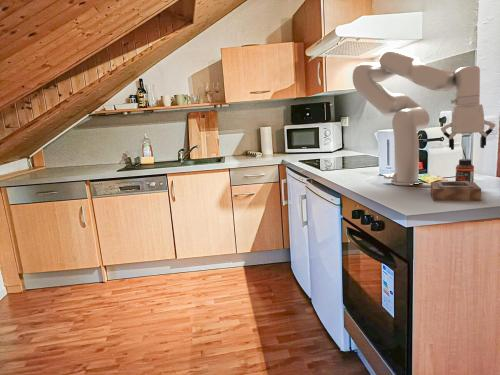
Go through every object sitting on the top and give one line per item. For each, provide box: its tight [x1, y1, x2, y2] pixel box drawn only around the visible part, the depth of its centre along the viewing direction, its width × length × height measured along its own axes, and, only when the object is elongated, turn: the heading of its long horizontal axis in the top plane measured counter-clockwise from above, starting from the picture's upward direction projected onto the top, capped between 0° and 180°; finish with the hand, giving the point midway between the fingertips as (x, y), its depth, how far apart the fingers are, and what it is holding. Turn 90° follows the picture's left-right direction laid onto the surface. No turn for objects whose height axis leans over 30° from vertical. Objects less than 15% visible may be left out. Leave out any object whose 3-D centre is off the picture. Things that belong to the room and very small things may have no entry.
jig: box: [430, 180, 482, 202], centre depth 125 cm, size 14×12×5 cm
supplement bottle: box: [454, 158, 475, 182], centre depth 135 cm, size 6×6×11 cm
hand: (467, 148), depth 133 cm, fingers open, 9 cm apart
